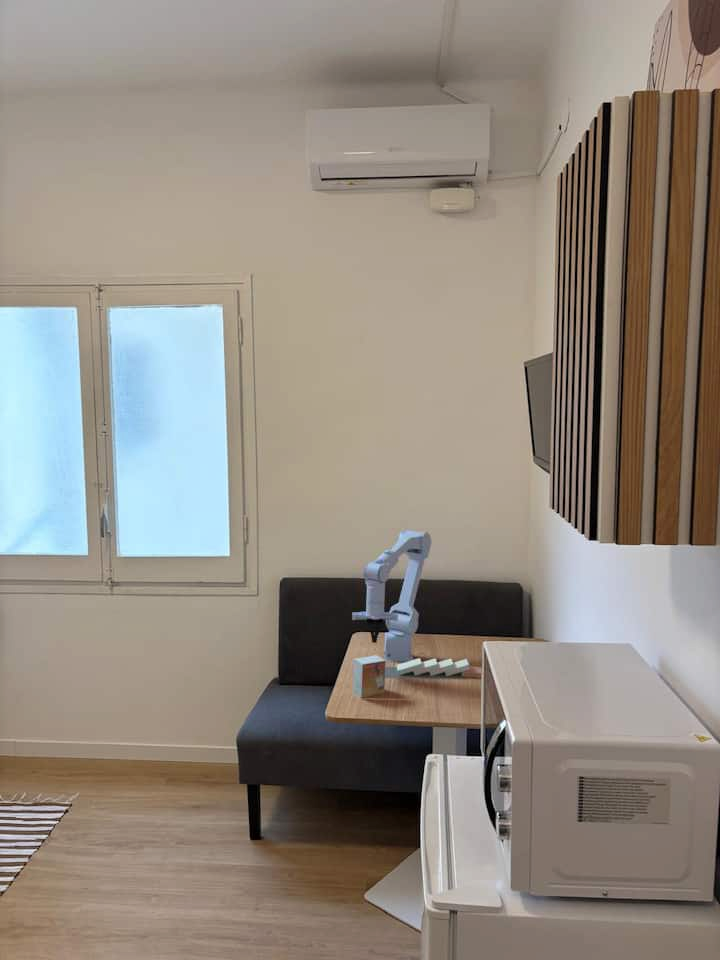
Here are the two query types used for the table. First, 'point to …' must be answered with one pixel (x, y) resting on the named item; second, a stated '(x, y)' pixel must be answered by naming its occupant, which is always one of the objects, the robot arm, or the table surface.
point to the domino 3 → (443, 667)
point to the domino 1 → (409, 666)
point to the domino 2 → (427, 667)
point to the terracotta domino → (472, 672)
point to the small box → (369, 676)
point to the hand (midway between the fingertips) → (374, 641)
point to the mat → (393, 673)
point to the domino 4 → (459, 667)
